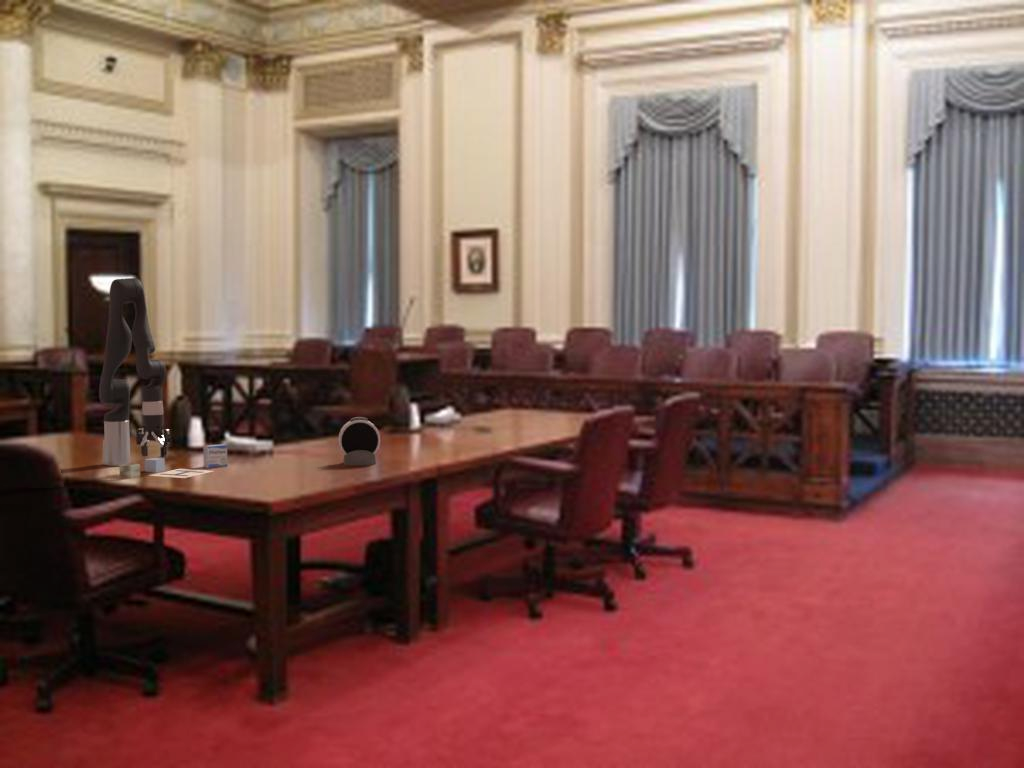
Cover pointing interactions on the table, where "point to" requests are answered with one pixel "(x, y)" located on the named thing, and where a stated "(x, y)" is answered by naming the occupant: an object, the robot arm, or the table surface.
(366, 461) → the alarm clock
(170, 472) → the letter sheet
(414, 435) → the table surface
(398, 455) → the table surface
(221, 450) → the medicine box
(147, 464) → the blue cube
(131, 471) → the block
